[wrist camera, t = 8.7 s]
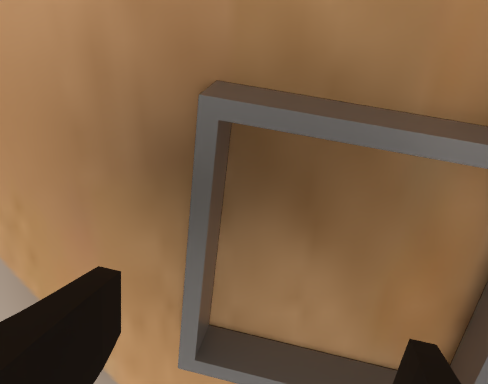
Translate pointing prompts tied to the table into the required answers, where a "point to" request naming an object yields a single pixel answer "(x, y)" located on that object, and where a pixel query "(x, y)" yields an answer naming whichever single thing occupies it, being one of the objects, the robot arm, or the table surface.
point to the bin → (209, 216)
